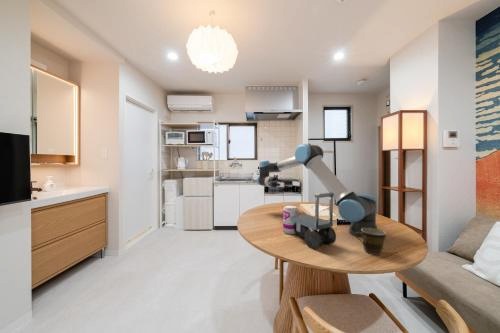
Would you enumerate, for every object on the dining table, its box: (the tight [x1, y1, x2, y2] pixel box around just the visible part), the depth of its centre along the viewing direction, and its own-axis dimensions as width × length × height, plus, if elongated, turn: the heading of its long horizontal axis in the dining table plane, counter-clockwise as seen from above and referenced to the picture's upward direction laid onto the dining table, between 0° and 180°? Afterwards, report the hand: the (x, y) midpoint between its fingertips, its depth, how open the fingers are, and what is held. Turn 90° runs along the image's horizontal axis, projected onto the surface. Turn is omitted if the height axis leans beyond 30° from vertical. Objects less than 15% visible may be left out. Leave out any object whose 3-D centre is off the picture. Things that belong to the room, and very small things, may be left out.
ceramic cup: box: [354, 228, 387, 256], centre depth 99 cm, size 13×10×10 cm
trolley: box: [290, 192, 337, 250], centre depth 111 cm, size 22×12×26 cm, turn 31°
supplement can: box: [282, 205, 299, 235], centre depth 125 cm, size 8×8×15 cm
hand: (292, 184), depth 138 cm, fingers open, 13 cm apart
